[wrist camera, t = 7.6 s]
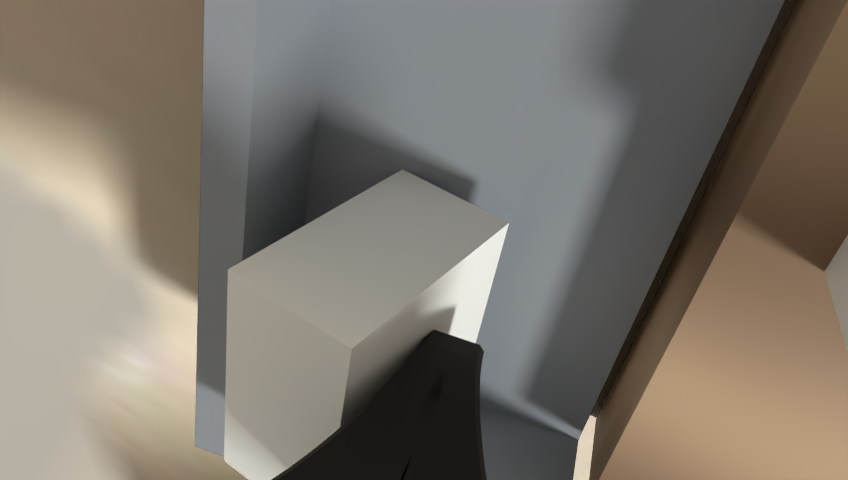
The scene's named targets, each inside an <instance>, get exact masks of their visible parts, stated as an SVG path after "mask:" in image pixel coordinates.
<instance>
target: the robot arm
mask: <svg viewBox="0 0 848 480" xmlns="http://www.w3.org/2000/svg"><path fill="white" fill-rule="evenodd" d="M483 355H484V351H483V349H482V347H481V346H480V345H479V344H476V343H473V342H470V341H467V340H464V339H461V338H458V337H455V336H452V335H449V334H446V333H443V332H440V331H437V330H432V331H431V332H430V333H429V334H428V335H427V336H426V337H424V338H423V339H422V341H421V342H420V344H419V345H418V346H417V348H416V349H415V351H414V352H413V353H412V354H411V356H410V357H409V358H408V359H407V361H406V362H405V363H404V364H403V365H402V366H401V368H400V369H399V370H398V371H397V372H396V373H395V374H394V376H393V377H392V378H391V379H390V380H389V381H388V382H387V383H386V384H385V385H384V386H383V387H382V388H381V389H380V390H379V391H378V392H377V393H376V394H375V395H374V396H373V397H372V398H371V399H370V400H369V401H368V402H367V403H366V404H365V405H364V406H363V407H362V408H361V409H360V410H359V411H358V412H357V413H355V414H354V415H353V416H352V417H351V418H350V419H349V420H348V421H347V422H345V423H344V424H343V425H342V426H341V427H340V428H339V429H338V430H337V431H335V432H334V433H333V434H332V435H331V436H329V437H328V438H327V439H326V440H325V441H323V442H322V443H321V444H320V445H318V446H317V447H316V448H315V449H313V450H312V451H311V452H309V453H308V454H307V455H305V456H304V457H303V458H301V459H300V460H299V461H297V462H296V463H295V464H293V465H292V466H291V467H289V468H288V469H286V470H285V471H283V472H282V473H280V474H279V475H277V476H276V477H274V478H273V479H272V480H487V478H486V471H485V464H484V455H483V445H482V433H481V421H480V376H481V366H482V359H483Z"/></svg>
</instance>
